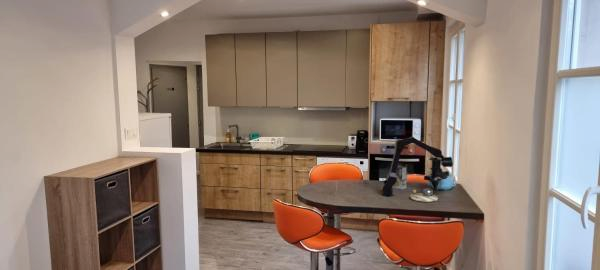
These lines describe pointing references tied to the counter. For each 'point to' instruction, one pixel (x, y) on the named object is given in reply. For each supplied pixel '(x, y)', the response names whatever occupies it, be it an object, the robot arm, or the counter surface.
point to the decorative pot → (445, 183)
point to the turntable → (422, 197)
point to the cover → (428, 192)
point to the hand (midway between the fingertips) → (435, 189)
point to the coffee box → (401, 178)
